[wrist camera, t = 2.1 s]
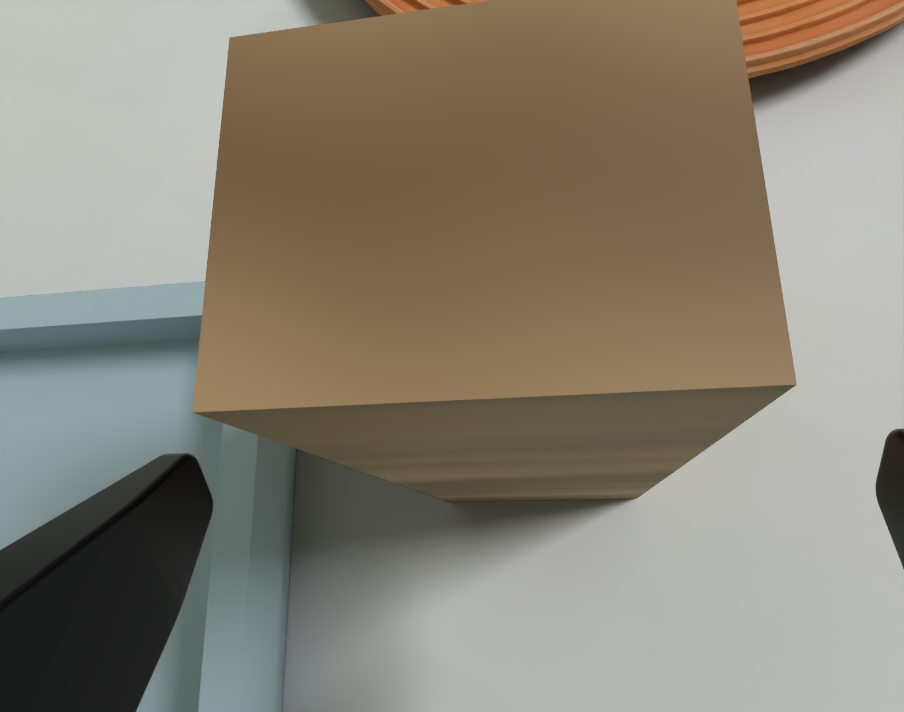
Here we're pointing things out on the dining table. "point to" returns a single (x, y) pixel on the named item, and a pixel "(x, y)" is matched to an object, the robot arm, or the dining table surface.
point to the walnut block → (494, 246)
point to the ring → (768, 26)
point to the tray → (137, 443)
